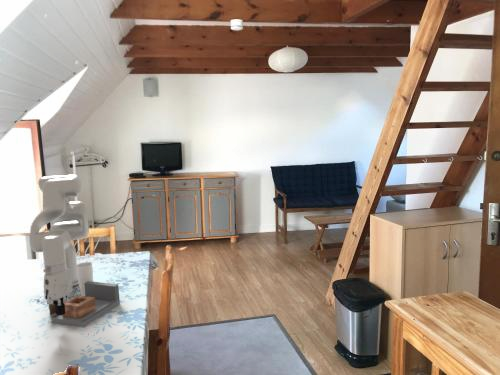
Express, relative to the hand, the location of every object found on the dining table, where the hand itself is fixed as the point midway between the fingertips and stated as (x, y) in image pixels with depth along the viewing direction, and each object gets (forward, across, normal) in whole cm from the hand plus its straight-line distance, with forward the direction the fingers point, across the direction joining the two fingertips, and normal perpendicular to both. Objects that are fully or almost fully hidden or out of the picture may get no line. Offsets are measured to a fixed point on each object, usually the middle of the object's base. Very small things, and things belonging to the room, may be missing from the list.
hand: (60, 314), depth 158 cm
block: (+4, +10, 0) cm, 10 cm away
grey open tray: (+6, +14, 0) cm, 16 cm away
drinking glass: (+6, +29, +13) cm, 33 cm away
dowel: (+6, +10, +14) cm, 19 cm away
